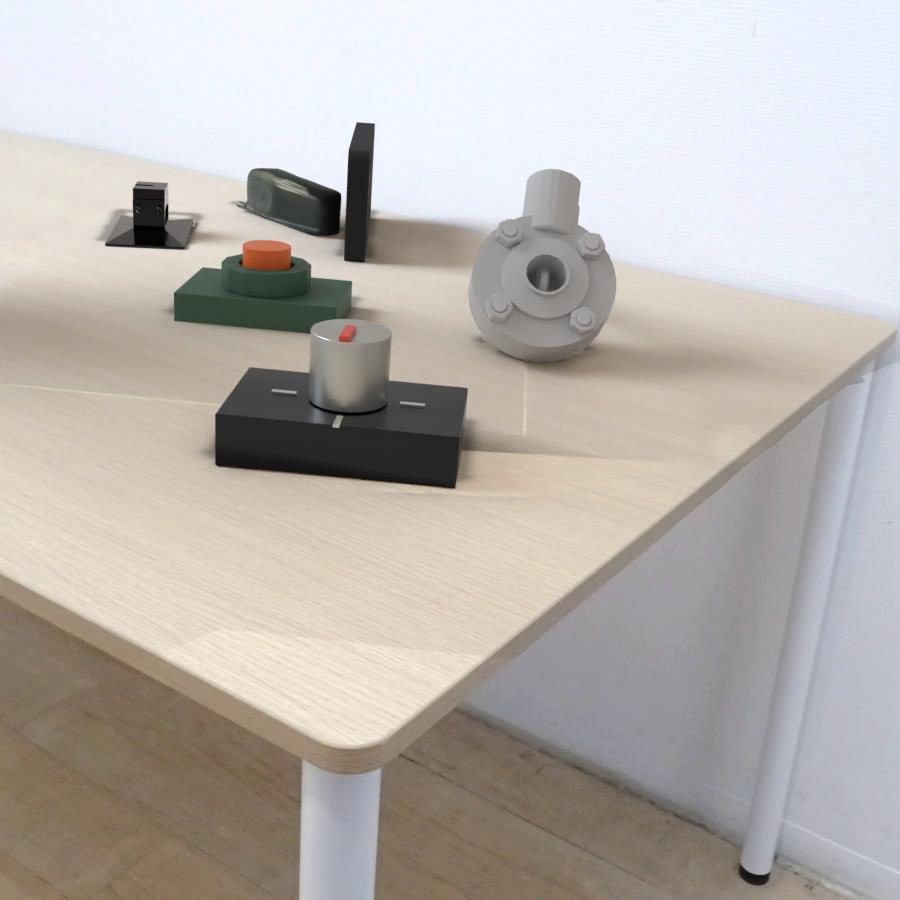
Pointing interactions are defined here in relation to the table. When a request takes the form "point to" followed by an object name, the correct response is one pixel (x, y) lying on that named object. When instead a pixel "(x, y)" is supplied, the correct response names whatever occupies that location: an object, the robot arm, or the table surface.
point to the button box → (262, 297)
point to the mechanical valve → (543, 276)
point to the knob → (349, 365)
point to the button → (266, 255)
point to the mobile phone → (293, 201)
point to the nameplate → (359, 191)
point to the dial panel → (342, 431)
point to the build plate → (150, 221)
